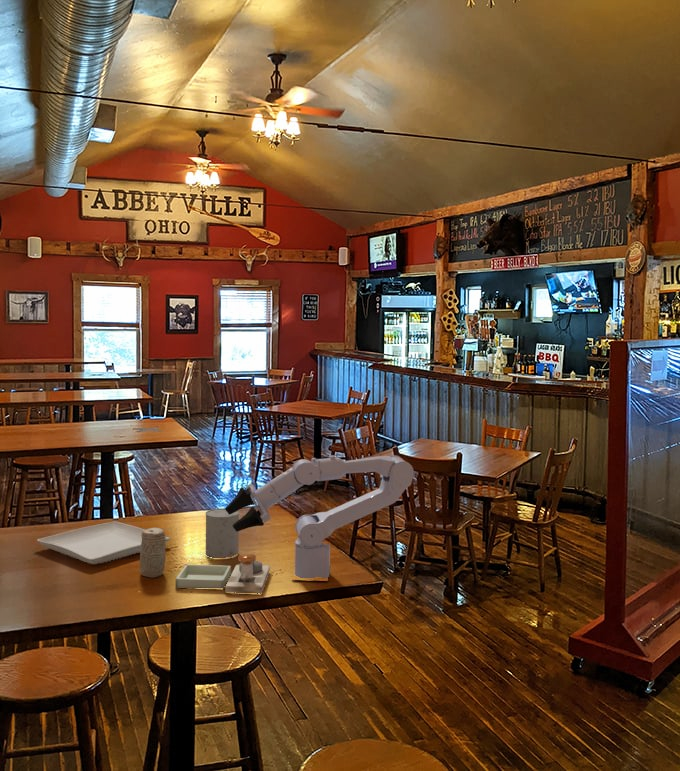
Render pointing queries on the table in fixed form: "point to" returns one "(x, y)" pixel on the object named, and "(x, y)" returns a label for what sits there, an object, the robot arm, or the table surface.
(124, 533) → the square plate
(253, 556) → the pin
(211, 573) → the tray
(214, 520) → the grey cylinder
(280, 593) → the table surface
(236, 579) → the white holder block
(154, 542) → the carving
